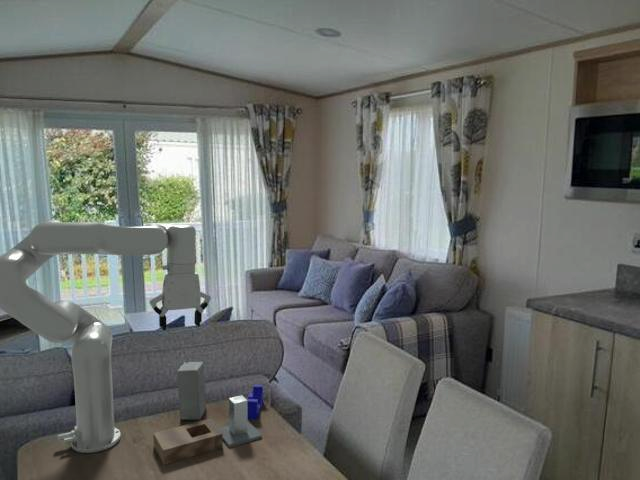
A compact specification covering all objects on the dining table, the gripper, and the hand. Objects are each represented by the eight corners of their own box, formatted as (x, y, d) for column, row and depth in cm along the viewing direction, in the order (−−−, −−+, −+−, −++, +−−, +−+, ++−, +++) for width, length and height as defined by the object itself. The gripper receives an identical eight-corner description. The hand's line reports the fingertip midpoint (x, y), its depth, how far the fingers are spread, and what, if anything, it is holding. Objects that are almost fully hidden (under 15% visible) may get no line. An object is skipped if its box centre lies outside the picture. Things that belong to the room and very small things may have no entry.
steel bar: (234, 437, 141) (234, 403, 139) (229, 430, 144) (228, 398, 143) (247, 433, 143) (247, 400, 141) (242, 427, 146) (241, 395, 145)
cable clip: (249, 401, 165) (249, 384, 164) (263, 402, 165) (263, 385, 164) (242, 419, 153) (242, 401, 152) (256, 420, 153) (256, 401, 152)
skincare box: (200, 420, 151) (199, 371, 149) (177, 420, 151) (175, 370, 149) (207, 407, 160) (206, 360, 158) (185, 407, 160) (183, 360, 158)
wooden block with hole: (163, 464, 128) (163, 450, 128) (153, 446, 137) (153, 433, 136) (222, 447, 137) (222, 433, 136) (209, 431, 145) (209, 418, 145)
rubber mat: (229, 447, 137) (228, 444, 137) (216, 431, 145) (216, 429, 145) (262, 437, 142) (262, 435, 142) (247, 422, 150) (247, 420, 150)
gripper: (153, 272, 133) (152, 334, 135) (215, 269, 142) (214, 327, 144) (146, 267, 139) (146, 326, 141) (207, 264, 148) (205, 320, 150)
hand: (180, 327), depth 143 cm, fingers open, 9 cm apart
